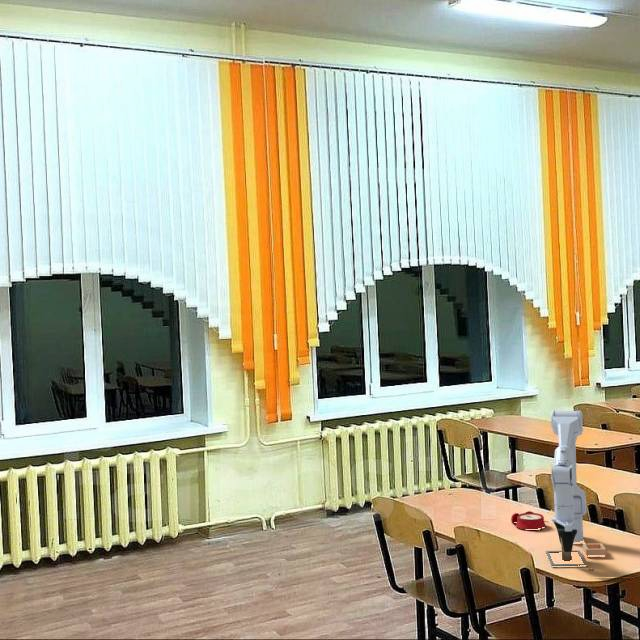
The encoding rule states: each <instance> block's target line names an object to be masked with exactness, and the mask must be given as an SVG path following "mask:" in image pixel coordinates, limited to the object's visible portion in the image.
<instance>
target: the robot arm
mask: <svg viewBox="0 0 640 640" xmlns="http://www.w3.org/2000/svg"><path fill="white" fill-rule="evenodd" d="M583 418H584V417H583V412H582V411H581V410H552V411H551V412H550V423H551V424H550V426H551V429H552V431H553V433H554V435H556V436H558V447H556V449H554V457H553V458H554V459H553V460H554V461H553V467H551V469H550V471H551V472H550V475H551V477H550V478H551V483H552V490H553V500H554V501H553V503H554V517H551V519H550V520H551V522H552V523H553V524H554V525H555V528H556V530H557V537H558V536H559V538H558V540H559V543H560V544H561V539H562V544H563V549H564V551H565V552H572V551H573V549H574V548H573V546H574V545H573V543H574V542H580V541H583V538H584V524H583V523H584V521H583V519H584V518H583V516H585V515H586V514H587V498H586V495H587V494H586V491H584V490H583V489H582V488H581V487H580V486H578V483H577V456H576V454H577V452H576V451H577V447H576V446H577V445H576V441H577V437H579V436H582V435H583V432H584V431H583V430H584V429H583V427H584V426H583V425H584V421H583V420H584V419H583Z"/></svg>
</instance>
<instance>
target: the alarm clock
mask: <svg viewBox="0 0 640 640" xmlns="http://www.w3.org/2000/svg"><path fill="white" fill-rule="evenodd" d="M510 521H511V524H512V525H515V528H517V527H518V528H520V529H519V530H521V529H538V528H542V527H545V525H546V523H548V520H547V521H546V520H545V517H544V515H543V514H541V513H536V512H533V511H530V510H528V511H526V512H524V513H517V512H515V513H513V514H511V518H510ZM514 522H517V524H514ZM518 528H517V529H518Z"/></svg>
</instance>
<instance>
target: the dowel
mask: <svg viewBox="0 0 640 640" xmlns="http://www.w3.org/2000/svg"><path fill="white" fill-rule="evenodd" d="M560 545H561V551H562V560H564V561H570V560H572V556H571V552H565V551H564V549H563V544H562V539H561V543H560Z"/></svg>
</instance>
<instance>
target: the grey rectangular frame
mask: <svg viewBox="0 0 640 640" xmlns="http://www.w3.org/2000/svg"><path fill="white" fill-rule="evenodd" d="M559 552H562V550H545V555H546V554H547V555H546V557H547V556H548V558H547V560H548V559H549V560H548V562H549V561H550V563H549V564H551V565H550V567H551V566H578V565H579V566H580V565H588V562H587V561H586V559H585V557H584V556H583V554H582V552H581V551H580V550H572V552H578V554H579V556H580V557H581V559H582V561H583V563H584V564H554V563H553V561H552V559H551V556H550V554H549V553H559Z"/></svg>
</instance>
